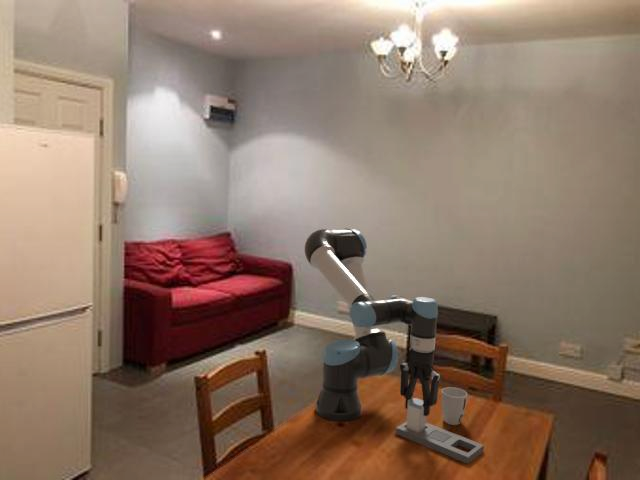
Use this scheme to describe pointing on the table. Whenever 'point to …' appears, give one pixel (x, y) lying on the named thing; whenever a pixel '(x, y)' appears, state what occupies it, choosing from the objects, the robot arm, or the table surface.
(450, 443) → the panel
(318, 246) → the robot arm
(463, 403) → the cup
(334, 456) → the table surface
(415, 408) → the plug
